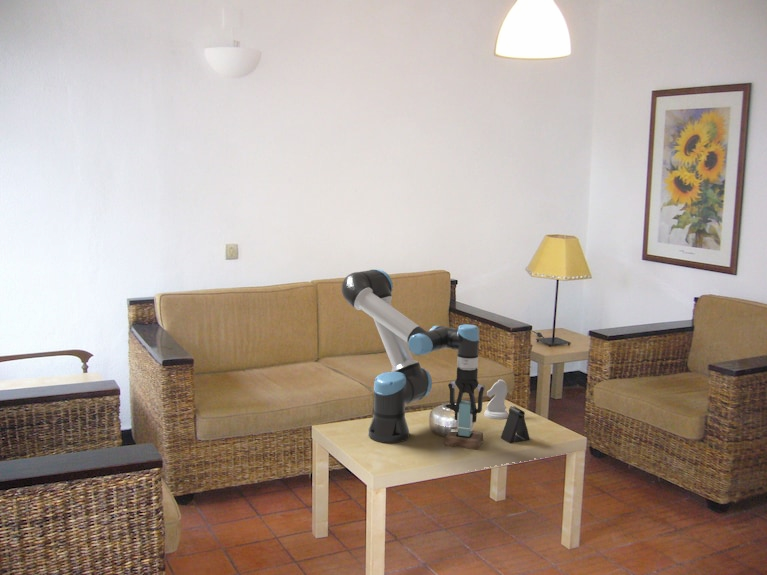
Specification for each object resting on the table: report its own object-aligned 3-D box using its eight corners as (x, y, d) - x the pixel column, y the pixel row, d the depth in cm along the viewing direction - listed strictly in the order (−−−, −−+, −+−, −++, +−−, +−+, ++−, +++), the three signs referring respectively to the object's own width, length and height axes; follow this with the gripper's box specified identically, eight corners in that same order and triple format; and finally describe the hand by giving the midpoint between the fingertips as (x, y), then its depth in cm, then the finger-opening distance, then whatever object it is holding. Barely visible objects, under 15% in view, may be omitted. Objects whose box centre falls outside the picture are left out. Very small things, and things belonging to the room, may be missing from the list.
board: (444, 444, 286) (445, 437, 285) (451, 436, 295) (451, 428, 295) (477, 449, 282) (477, 441, 282) (483, 440, 291) (483, 432, 291)
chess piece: (482, 411, 325) (484, 376, 323) (506, 411, 326) (507, 376, 323) (485, 418, 316) (487, 383, 313) (510, 419, 316) (512, 383, 313)
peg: (458, 435, 287) (459, 403, 285) (460, 431, 290) (461, 400, 289) (469, 436, 285) (470, 404, 283) (471, 433, 289) (472, 401, 287)
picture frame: (520, 435, 298) (522, 404, 296) (529, 440, 293) (531, 409, 291) (500, 438, 294) (502, 407, 292) (509, 443, 289) (511, 412, 287)
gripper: (441, 367, 283) (439, 429, 287) (488, 372, 278) (486, 435, 281) (446, 362, 290) (445, 423, 294) (492, 367, 285) (490, 429, 288)
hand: (465, 429), depth 288 cm, fingers closed on peg, 4 cm apart
